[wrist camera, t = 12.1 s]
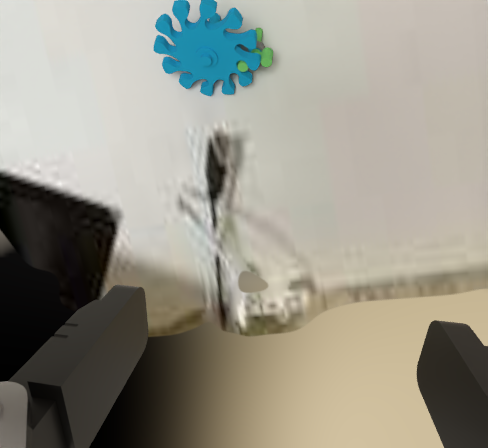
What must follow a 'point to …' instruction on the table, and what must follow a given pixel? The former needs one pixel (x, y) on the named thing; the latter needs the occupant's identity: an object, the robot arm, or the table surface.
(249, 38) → the gear
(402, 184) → the table surface
